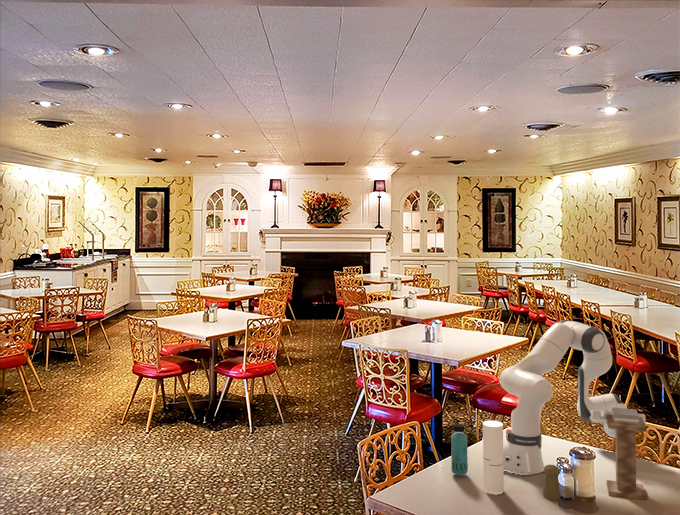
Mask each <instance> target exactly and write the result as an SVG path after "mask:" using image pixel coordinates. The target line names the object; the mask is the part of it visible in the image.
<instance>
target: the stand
mask: <svg viewBox="0 0 680 515" xmlns="http://www.w3.org/2000/svg"><path fill="white" fill-rule="evenodd" d="M606 421H607V425H608V428H609V429H616V437H615V480H610V479H606V489H607V493H608V496H609V497H611V496H612V497H620V498H626V499H636V500H641V501H642V500H643V501H647V500H648V499H647V498H648V495H647V492H646V490H645V487H644V484H643V483H637V432H643V433H644V432H645V433H647V430H648V428H647V426H646V423H644V421H643V419H642V417H639V424H629V423H617V422H614V421H613V417H612V415H609V414H606Z"/></svg>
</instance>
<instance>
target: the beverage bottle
mask: <svg viewBox="0 0 680 515" xmlns="http://www.w3.org/2000/svg"><path fill="white" fill-rule="evenodd" d="M453 431H454V432H453V433H452V434H451V436H450V439H451V440H450V441H451V443H450V444H451V450H450V451H451V456H450V457H451V460H450V462H451V472H452V474H454V475H457V476H458V475H459V476H463V475H467V473H468V472H469V470H468V469H469V468H468V467H469V464H468V459H469V458H468V445H469V444H468V436H467V434H465V433H464V432H465V424H462V423H455V424H454V425H453Z"/></svg>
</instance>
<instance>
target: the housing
mask: <svg viewBox="0 0 680 515" xmlns="http://www.w3.org/2000/svg"><path fill="white" fill-rule="evenodd" d="M638 414H639V413H638V410H637V409H636V408H634V409H633V408H628V406H627V404H626V403H623V404H620V403H617V408H612V417H613V421H614V422H617V423H629V424H639V415H638Z"/></svg>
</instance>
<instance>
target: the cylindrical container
mask: <svg viewBox="0 0 680 515" xmlns="http://www.w3.org/2000/svg"><path fill="white" fill-rule="evenodd" d="M503 441H504V424H503V422H500V421H497V420H485V421H483V422H482V447H483V448H482V449H483V451H482V453H483V454H482V459H483V460H482V462H483V464H482V466H483V489H484V488H485V489H486V490H488V491H492V492H501V491H503V490H504V491H505V477H504V474H505V472H504V463H503Z"/></svg>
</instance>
